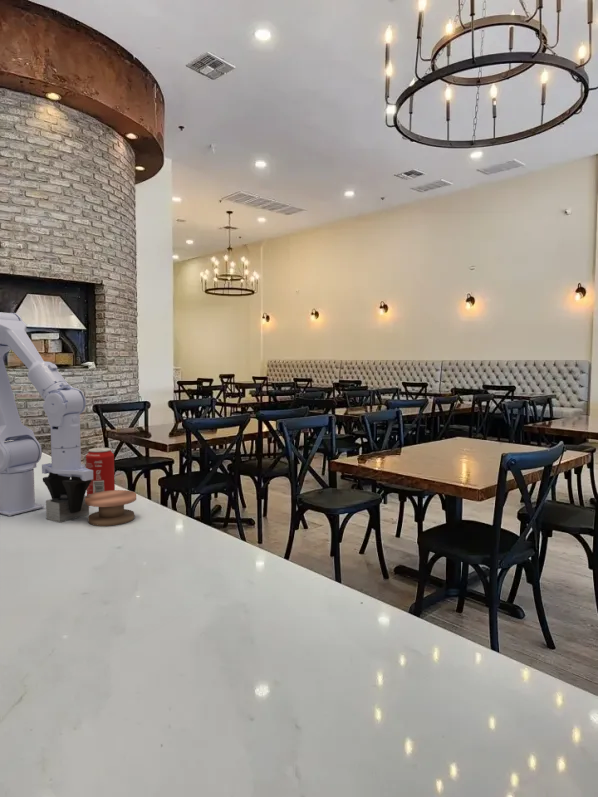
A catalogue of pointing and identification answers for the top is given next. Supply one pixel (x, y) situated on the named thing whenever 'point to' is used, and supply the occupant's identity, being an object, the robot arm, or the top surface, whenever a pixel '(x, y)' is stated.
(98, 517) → the stand
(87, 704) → the top surface
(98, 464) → the beverage can
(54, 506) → the block
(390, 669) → the top surface
